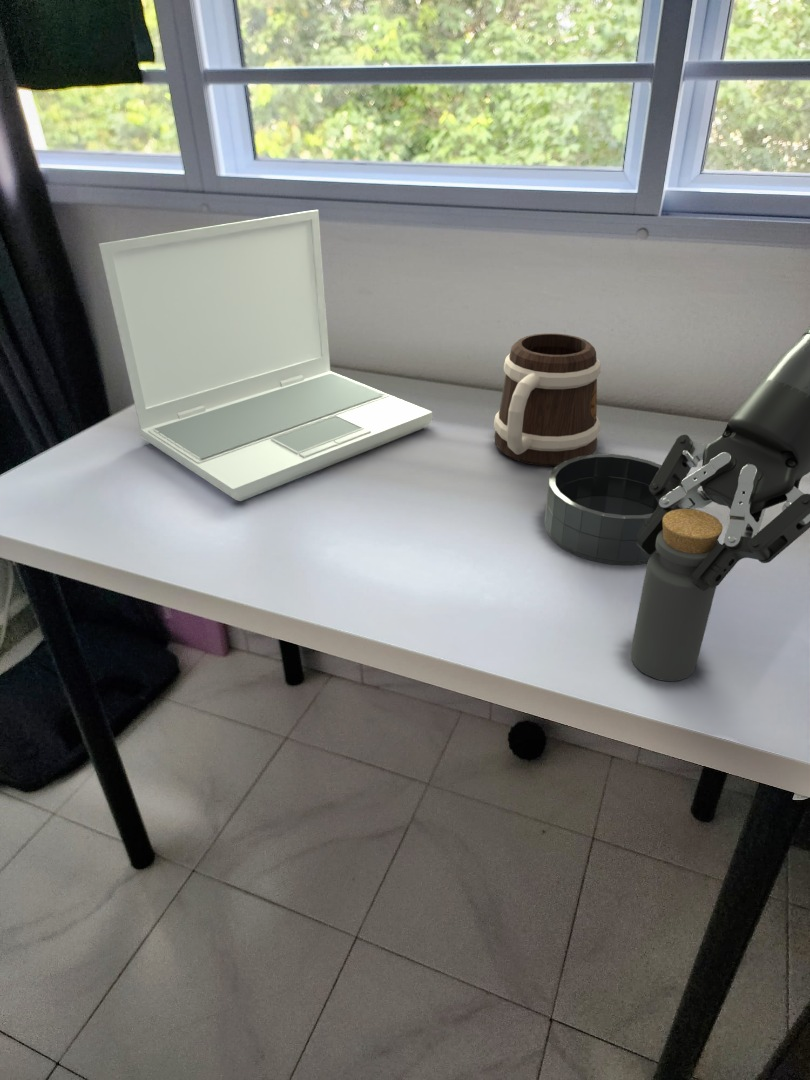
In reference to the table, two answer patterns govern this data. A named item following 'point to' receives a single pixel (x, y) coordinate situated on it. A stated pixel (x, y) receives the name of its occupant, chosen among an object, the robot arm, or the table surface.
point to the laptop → (242, 354)
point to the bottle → (675, 597)
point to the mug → (549, 400)
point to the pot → (601, 507)
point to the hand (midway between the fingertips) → (669, 566)
